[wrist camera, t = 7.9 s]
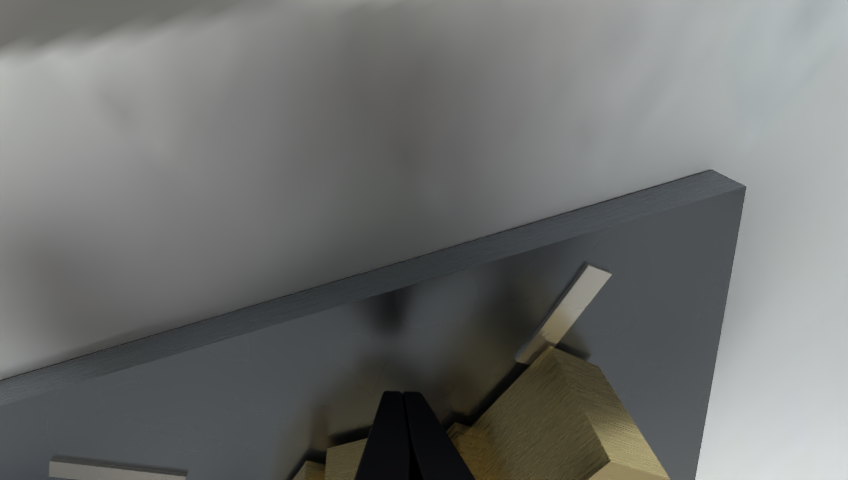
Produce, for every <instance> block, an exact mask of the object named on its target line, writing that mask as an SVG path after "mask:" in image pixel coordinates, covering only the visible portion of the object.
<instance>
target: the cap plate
mask: <svg viewBox="0 0 848 480" xmlns="http://www.w3.org/2000/svg"><path fill="white" fill-rule="evenodd" d="M745 191H746V186H744V185H742V184H740V183H738V182H736V181H734V180H732V179H730V178H728V177H726V176H724V175H722V174H720V173H718V172H716V171H714V170H710V171H707V172H704V173H700V174H697V175H694V176H690V177H687V178H683V179H680V180H677V181H673V182H670V183H667V184H663V185H660V186H656V187H653V188H650V189H646V190H643V191H640V192H636V193H633V194H629V195H626V196H623V197H619V198H616V199H613V200H609V201H606V202H602V203H599V204H596V205H592V206H589V207H586V208H582V209H579V210H575V211H572V212H569V213H565V214H562V215H558V216H555V217H552V218H548V219H545V220H542V221H538V222H535V223H531V224H528V225H525V226H521V227H518V228H515V229H511V230H508V231H504V232H501V233H498V234H494V235H491V236H488V237H484V238H481V239H477V240H474V241H471V242H467V243H464V244H461V245H457V246H454V247H450V248H447V249H444V250H440V251H437V252H434V253H430V254H427V255H423V256H420V257H417V258H413V259H410V260H407V261H403V262H400V263H396V264H393V265H390V266H386V267H383V268H380V269H376V270H373V271H369V272H366V273H363V274H359V275H356V276H353V277H349V278H346V279H342V280H339V281H336V282H332V283H329V284H326V285H322V286H319V287H315V288H312V289H309V290H305V291H302V292H299V293H295V294H292V295H288V296H285V297H282V298H278V299H275V300H272V301H268V302H265V303H261V304H258V305H255V306H251V307H248V308H245V309H241V310H238V311H234V312H231V313H228V314H224V315H221V316H218V317H214V318H211V319H207V320H204V321H201V322H197V323H194V324H191V325H187V326H184V327H180V328H177V329H174V330H170V331H167V332H164V333H160V334H157V335H153V336H150V337H147V338H143V339H140V340H137V341H133V342H130V343H126V344H123V345H120V346H116V347H113V348H110V349H106V350H103V351H99V352H96V353H93V354H89V355H86V356H83V357H79V358H76V359H72V360H69V361H66V362H62V363H59V364H56V365H52V366H49V367H45V368H42V369H39V370H35V371H32V372H29V373H25V374H22V375H18V376H15V377H12V378H8V379H5V380H2V381H0V480H293V478H294V477H295V475H296V474H297V473H298V471H299V470H300V469H301V467H302V466H303V465H304V463H305V462H306V461H311V462H316V463H320V464H325V465H326V456H327V448H331V447H335V446H339V445H343V444H347V443H351V442H354V441H358V440H362V439H366V438H368V436H369V433H370V430H371V426H372V423H373V420H374V417H375V414H376V411H377V408H378V405H379V402H380V399H381V396H382V394H383V392H384V391H400V392H401V393H402V392H404V391H419V392H421V393H422V394H423V396H424V397H425V399H426V401H427V402H428V404H429V405H430V407H431V409H432V410H433V412H434V413H435V415H436V417H437V418H438V420H439V421H440V423H441V425H442V426H443V428H444V429H445V431H447V430H448V429H449V428H450V427H451V426H452V425H453V424H454V423H459V424H462V425H465V426H469V427H471V426H472V425H473V424H474V423H475V422H476V421H477V420H478V419H479V418H480V417H481V416H482V415H483V414H484V413H485V412H486V411H487V410H488V409H489V407H490V406H491V405H492V404H493V403H494V402H495V401H496V400H497V399H498V398H499V397H500V396H501V395H502V394H503V393H504V392H505V391H506V390H507V389H508V388H509V387H510V386H511V385H512V384H513V383H514V382H515V381H516V380H517V378H518V377H519V376H520V375H521V374H522V373H523V372H524V371H525V370H526V369H527V368H528V367H529V366H530V365H531V364H532V363H533V362H534V361H535V360H536V359H537V358H538V357H539V356H540V355H541V354H542V353H543V352H544V351H545V350H546V348H547V347H548V346H549V345H550V346H552V347H554V348H557V349H559V350H561V351H564V352H566V353H569V354H571V355H573V356H576V357H578V358H580V359H583V360H585V361H588V362H590V363H592V364H595V365H597V366H599V368H600V369H601V371H602V372H603V374H604V376H605V377H606V379H607V380H608V382H609V383H610V385H611V387H612V388H613V390H614V391H615V393H616V394H617V396H618V398H619V399H620V401H621V402H622V404H623V406H624V407H625V409H626V410H627V412H628V413H629V415H630V417H631V418H632V420H633V421H634V423H635V424H636V426H637V428H638V429H639V431H640V432H641V434H642V435H643V437H644V439H645V440H646V442H647V443H648V445H649V446H650V448H651V450H652V451H653V453H654V454H655V456H656V458H657V459H658V461H659V462H660V464H661V465H662V467H663V469H664V470H665V472H666V473H667V475H668V476H669V478H670V480H695V476H696V471H697V465H698V459H699V454H700V448H701V442H702V436H703V431H704V425H705V419H706V414H707V408H708V402H709V396H710V391H711V385H712V379H713V374H714V368H715V362H716V357H717V351H718V345H719V339H720V334H721V328H722V322H723V317H724V311H725V305H726V300H727V294H728V288H729V282H730V277H731V271H732V265H733V260H734V254H735V248H736V243H737V237H738V231H739V225H740V220H741V214H742V208H743V203H744V197H745Z"/></svg>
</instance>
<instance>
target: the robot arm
mask: <svg viewBox="0 0 848 480" xmlns="http://www.w3.org/2000/svg"><path fill="white" fill-rule="evenodd" d="M354 480H476V479H475V477H474V476H473V474H472V473H471V471H470V469H469V468H468V466H467V465H466V463H465V461H464V460H463V458H462V457H461V455H460V453H459V452H458V450H457V449H456V447H455V445H454V444H453V442H452V441H451V439H450V437H449V436H448V434H447V433H446V431H445V429H444V428H443V426H442V425H441V423H440V421H439V420H438V418H437V417H436V415H435V413H434V412H433V410H432V409H431V407H430V405H429V404H428V402H427V401H426V399H425V397H424V396H423V394H422V393H421V392H419V391H404V392H402V393H401V392H400V391H384V392H383V394H382V396H381V399H380V402H379V405H378V408H377V411H376V414H375V417H374V420H373V423H372V426H371V430H370V433H369V436H368V439H367V442H366V445H365V448H364V451H363V454H362V457H361V460H360V463H359V466H358V469H357V472H356V475H355V478H354Z"/></svg>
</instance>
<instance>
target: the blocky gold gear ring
mask: <svg viewBox="0 0 848 480" xmlns="http://www.w3.org/2000/svg"><path fill="white" fill-rule="evenodd" d="M446 433H447V434H448V436H449V437H450V439H451V441H452V442H453V444H454V445H455V447H456V449H457V450H458V452H459V453H460V455H461V457H462V458H463V460H464V461H465V463H466V465H467V466H468V468H469V469H470V471H471V473H472V474H473V476H474V477H475V479H476V480H670V478H669V476H668V475H667V473H666V472H665V470H664V469H663V467H662V465H661V464H660V462H659V461H658V459H657V458H656V456H655V454H654V453H653V451H652V450H651V448H650V446H649V445H648V443H647V442H646V440H645V439H644V437H643V435H642V434H641V432H640V431H639V429H638V428H637V426H636V424H635V423H634V421H633V420H632V418H631V417H630V415H629V413H628V412H627V410H626V409H625V407H624V406H623V404H622V402H621V401H620V399H619V398H618V396H617V394H616V393H615V391H614V390H613V388H612V387H611V385H610V383H609V382H608V380H607V379H606V377H605V376H604V374H603V372H602V371H601V369H600V368H599V366H597V365H595V364H592V363H590V362H588V361H585V360H583V359H580V358H578V357H576V356H573V355H571V354H569V353H566V352H564V351H561V350H559V349H557V348H554V347H552V346H550V345H549V346H548V347H547V348H546V350H545V351H544V352H543V353H542V354H541V355H540V356H539V357H538V358H537V359H536V360H535V361H534V362H533V363H532V364H531V365H530V366H529V367H528V368H527V369H526V370H525V371H524V372H523V373H522V374H521V375H520V376H519V377H518V378H517V380H516V381H515V382H514V383H513V384H512V385H511V386H510V387H509V388H508V389H507V390H506V391H505V392H504V393H503V394H502V395H501V396H500V397H499V398H498V399H497V400H496V401H495V402H494V403H493V404H492V405H491V406H490V407H489V409H488V410H487V411H486V412H485V413H484V414H483V415H482V416H481V417H480V418H479V419H478V420H477V421H476V422H475V423H474V424H473V425H472V426H471V427H469V426H465V425H462V424H459V423H454V424H453V425H452V426H451V427H450V428H449V429H448V430H447V431H446ZM367 439H368V438H366V439H362V440H358V441H354V442H351V443H347V444H343V445H339V446H335V447H331V448H327V456H326V465H325V464H320V463H316V462H311V461H306V462H305V463H304V465H303V466H302V467H301V469H300V470H299V471H298V473H297V474H296V475H295V477H294V478H293V480H354V478H355V475H356V472H357V469H358V466H359V463H360V460H361V457H362V454H363V451H364V448H365V445H366V442H367Z"/></svg>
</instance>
